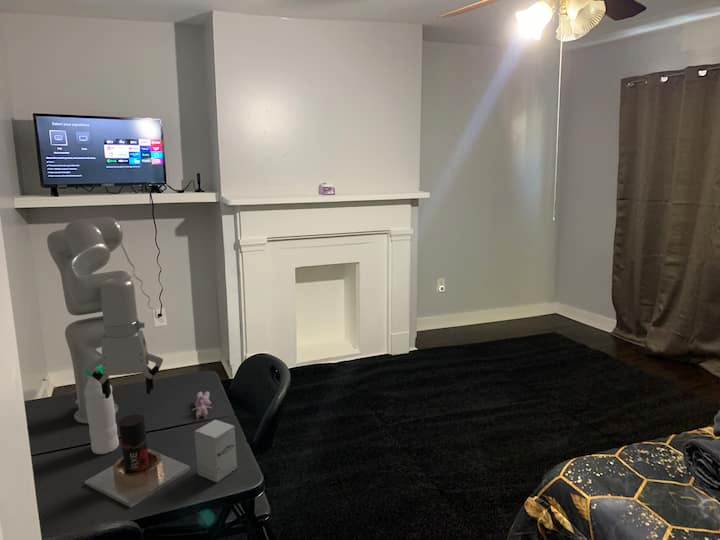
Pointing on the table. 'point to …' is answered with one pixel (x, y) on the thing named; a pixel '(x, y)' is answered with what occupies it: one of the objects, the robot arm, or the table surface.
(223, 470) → the supplement box
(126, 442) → the deodorant
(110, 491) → the base
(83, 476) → the table surface
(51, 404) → the table surface
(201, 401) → the pink plush toy
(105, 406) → the water bottle
